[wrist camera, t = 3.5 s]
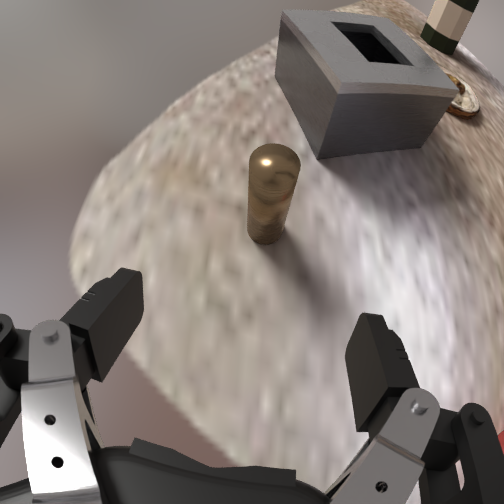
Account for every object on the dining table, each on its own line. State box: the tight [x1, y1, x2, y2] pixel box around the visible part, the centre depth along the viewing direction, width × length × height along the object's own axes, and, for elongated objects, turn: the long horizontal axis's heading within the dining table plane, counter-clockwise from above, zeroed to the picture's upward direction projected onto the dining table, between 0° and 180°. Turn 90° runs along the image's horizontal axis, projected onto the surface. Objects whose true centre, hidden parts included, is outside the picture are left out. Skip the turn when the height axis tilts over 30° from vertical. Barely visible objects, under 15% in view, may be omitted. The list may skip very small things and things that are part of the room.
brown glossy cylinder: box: [247, 144, 301, 245], centre depth 21 cm, size 3×3×9 cm
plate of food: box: [436, 63, 480, 120], centre depth 34 cm, size 15×15×4 cm
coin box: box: [275, 10, 459, 159], centre depth 27 cm, size 14×14×10 cm
